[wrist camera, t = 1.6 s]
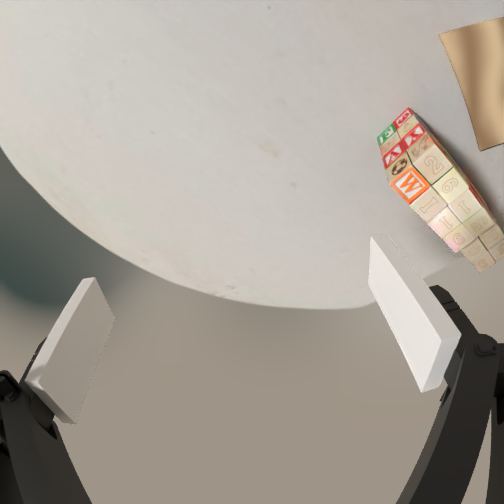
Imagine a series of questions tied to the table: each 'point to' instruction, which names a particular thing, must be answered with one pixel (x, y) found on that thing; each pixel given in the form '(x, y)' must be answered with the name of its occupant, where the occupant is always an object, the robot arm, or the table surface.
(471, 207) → the stack of blocks
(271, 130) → the table surface
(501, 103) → the mat
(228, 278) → the table surface
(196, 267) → the table surface
